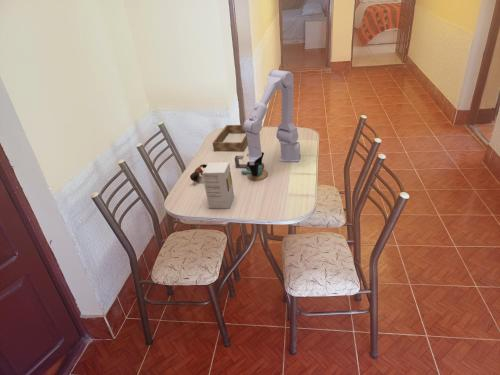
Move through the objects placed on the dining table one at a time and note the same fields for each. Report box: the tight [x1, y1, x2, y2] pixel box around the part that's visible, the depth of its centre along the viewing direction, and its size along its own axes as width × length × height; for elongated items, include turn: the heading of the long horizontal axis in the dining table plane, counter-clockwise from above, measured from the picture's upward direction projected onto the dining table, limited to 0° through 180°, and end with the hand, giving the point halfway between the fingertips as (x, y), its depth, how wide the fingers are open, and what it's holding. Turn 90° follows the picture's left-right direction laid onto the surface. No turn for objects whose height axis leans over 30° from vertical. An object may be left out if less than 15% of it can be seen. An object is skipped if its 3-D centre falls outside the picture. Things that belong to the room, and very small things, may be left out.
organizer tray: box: [212, 124, 248, 153], centre depth 203 cm, size 17×26×5 cm, turn 166°
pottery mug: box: [189, 163, 207, 183], centre depth 168 cm, size 12×9×8 cm
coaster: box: [246, 168, 269, 182], centre depth 168 cm, size 10×10×1 cm
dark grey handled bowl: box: [234, 155, 265, 171], centre depth 174 cm, size 14×9×6 cm, turn 76°
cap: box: [241, 164, 262, 177], centre depth 167 cm, size 10×5×4 cm, turn 70°
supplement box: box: [201, 161, 235, 209], centre depth 146 cm, size 10×9×17 cm
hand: (257, 171), depth 167 cm, fingers open, 7 cm apart
